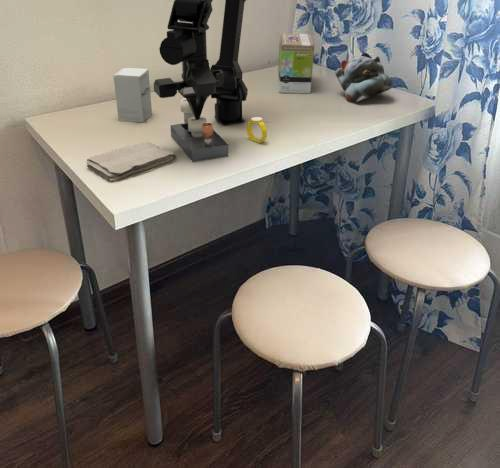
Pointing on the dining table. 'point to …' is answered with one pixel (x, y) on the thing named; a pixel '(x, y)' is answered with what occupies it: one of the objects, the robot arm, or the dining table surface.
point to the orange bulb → (207, 133)
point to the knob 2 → (196, 126)
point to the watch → (263, 127)
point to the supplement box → (133, 94)
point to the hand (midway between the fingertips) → (197, 119)
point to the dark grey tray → (198, 144)
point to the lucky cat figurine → (362, 78)
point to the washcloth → (130, 161)
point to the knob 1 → (186, 109)
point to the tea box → (295, 63)
